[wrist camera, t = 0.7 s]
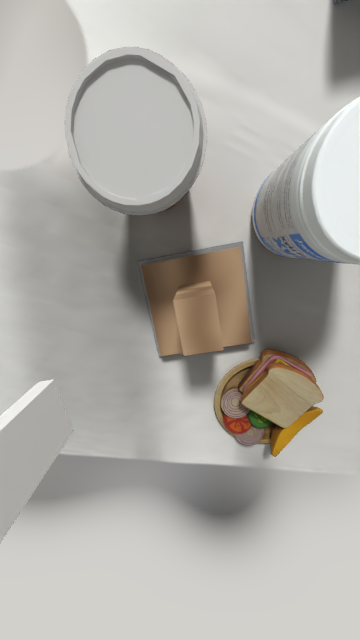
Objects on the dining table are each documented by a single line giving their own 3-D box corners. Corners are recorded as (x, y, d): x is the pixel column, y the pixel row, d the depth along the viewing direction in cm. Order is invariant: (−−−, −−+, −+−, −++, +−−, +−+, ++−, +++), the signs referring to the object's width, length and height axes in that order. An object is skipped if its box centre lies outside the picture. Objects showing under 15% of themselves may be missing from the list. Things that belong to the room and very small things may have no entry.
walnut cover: (161, 352, 33) (149, 391, 24) (142, 264, 30) (121, 272, 21) (249, 339, 32) (271, 375, 23) (238, 247, 29) (258, 247, 20)
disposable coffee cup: (219, 192, 28) (236, 154, 16) (147, 243, 30) (116, 241, 18) (170, 105, 26) (150, -8, 14) (96, 165, 28) (26, 108, 16)
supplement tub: (250, 260, 30) (301, 273, 15) (250, 167, 27) (310, 80, 13) (339, 253, 29) (477, 260, 15) (347, 157, 26) (524, 53, 12)
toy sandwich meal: (194, 401, 35) (194, 424, 31) (265, 329, 32) (276, 343, 27) (262, 452, 37) (271, 481, 32) (336, 388, 34) (358, 411, 29)
